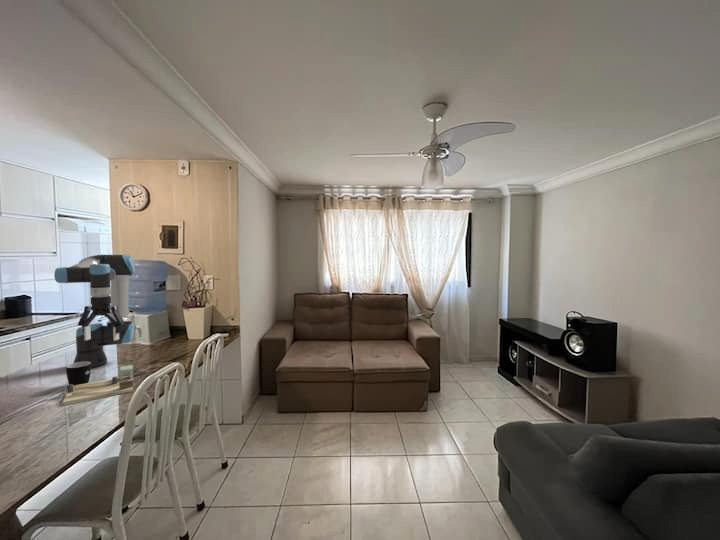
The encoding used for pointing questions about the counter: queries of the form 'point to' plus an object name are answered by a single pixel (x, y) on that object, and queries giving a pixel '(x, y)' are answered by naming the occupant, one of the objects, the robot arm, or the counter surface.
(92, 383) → the board
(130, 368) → the block
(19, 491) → the counter surface
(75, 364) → the mug
